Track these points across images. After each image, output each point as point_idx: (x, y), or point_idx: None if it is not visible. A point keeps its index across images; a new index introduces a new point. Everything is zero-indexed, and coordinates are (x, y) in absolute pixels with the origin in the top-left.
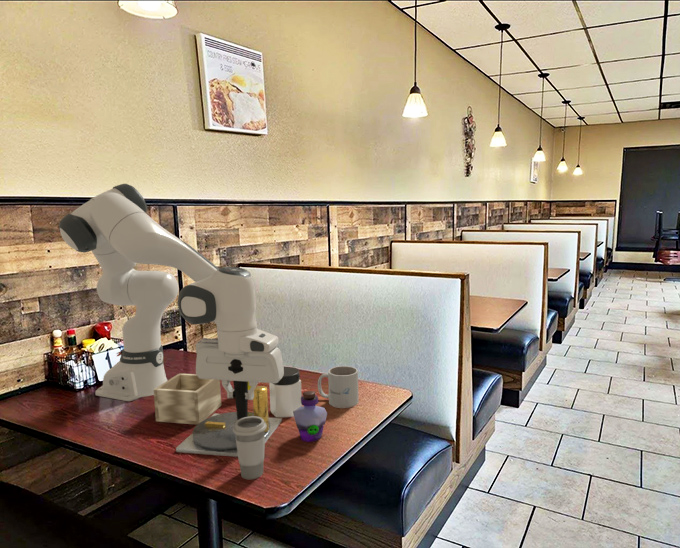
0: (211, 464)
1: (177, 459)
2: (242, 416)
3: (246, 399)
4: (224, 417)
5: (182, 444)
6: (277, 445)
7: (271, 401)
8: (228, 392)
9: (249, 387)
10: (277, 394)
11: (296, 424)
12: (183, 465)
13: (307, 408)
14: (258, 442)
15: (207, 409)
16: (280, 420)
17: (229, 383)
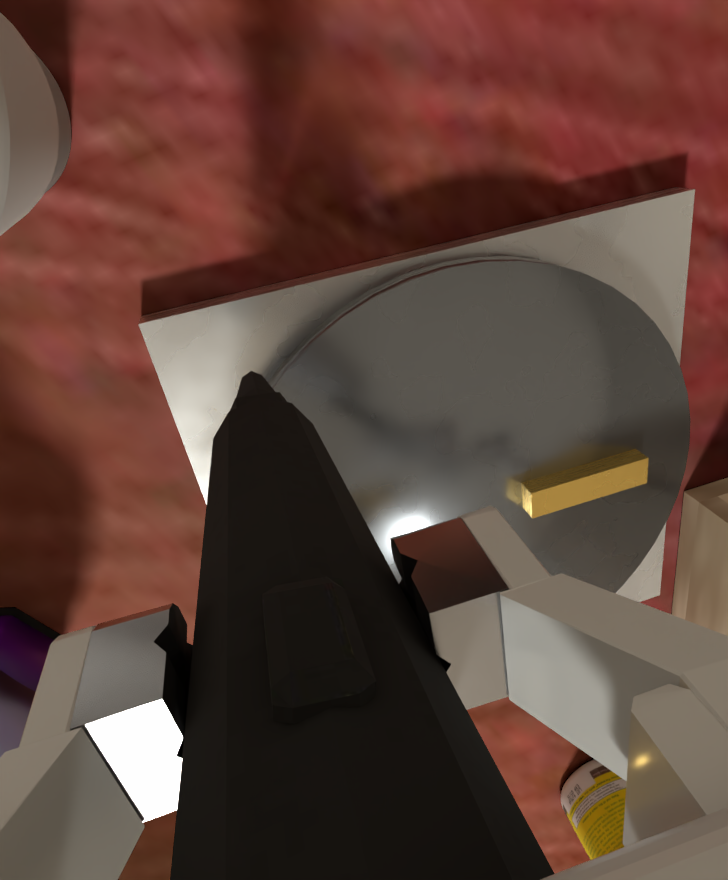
0: (372, 135)
1: (625, 103)
2: (230, 439)
3: (159, 609)
4: (578, 573)
5: (674, 244)
6: (124, 517)
7: None
8: (509, 570)
9: (601, 822)
10: None
11: (4, 691)
12: (548, 43)
13: None
14: None
15: (708, 593)
16: None
17: (620, 763)
